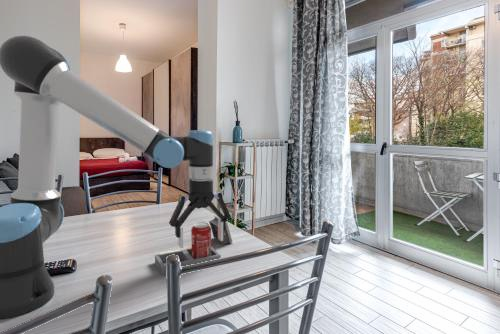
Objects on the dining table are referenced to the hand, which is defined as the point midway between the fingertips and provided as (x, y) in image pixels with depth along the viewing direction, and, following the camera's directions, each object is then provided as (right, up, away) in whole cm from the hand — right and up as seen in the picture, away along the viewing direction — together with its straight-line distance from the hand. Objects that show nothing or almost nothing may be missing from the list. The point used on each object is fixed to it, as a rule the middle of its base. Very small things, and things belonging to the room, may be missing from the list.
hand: (201, 243), depth 101 cm
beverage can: (0, -6, +1) cm, 6 cm away
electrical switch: (+5, -4, +18) cm, 19 cm away
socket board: (-4, -6, -1) cm, 7 cm away
